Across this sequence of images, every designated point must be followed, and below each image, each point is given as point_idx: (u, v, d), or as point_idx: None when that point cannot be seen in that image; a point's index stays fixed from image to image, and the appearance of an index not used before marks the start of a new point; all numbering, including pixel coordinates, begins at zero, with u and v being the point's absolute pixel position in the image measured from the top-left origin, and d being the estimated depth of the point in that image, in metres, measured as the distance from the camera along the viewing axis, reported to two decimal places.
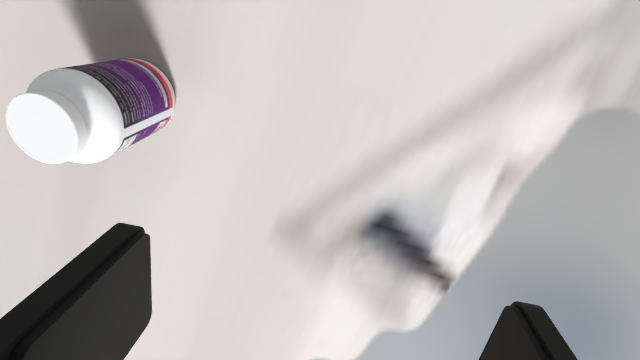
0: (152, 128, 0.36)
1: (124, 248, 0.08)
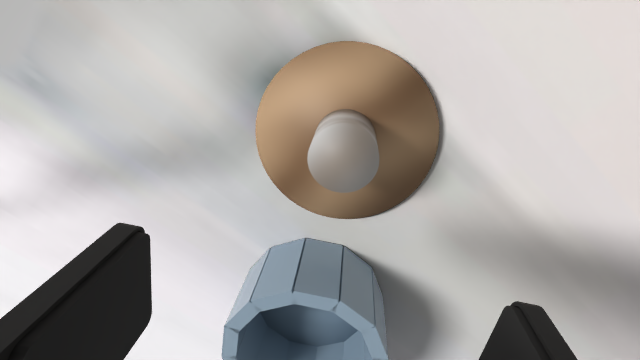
0: None
1: (124, 248, 0.08)
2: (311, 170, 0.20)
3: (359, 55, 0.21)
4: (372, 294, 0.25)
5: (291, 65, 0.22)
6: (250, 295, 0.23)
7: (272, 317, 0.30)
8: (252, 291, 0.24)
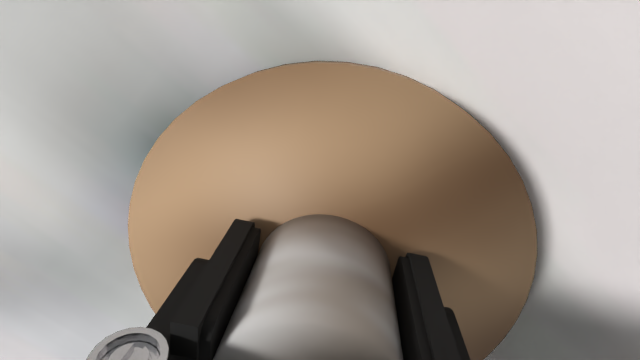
0: None
1: (249, 241, 0.09)
2: None
3: (361, 99, 0.09)
4: None
5: (197, 113, 0.09)
6: None
7: None
8: None
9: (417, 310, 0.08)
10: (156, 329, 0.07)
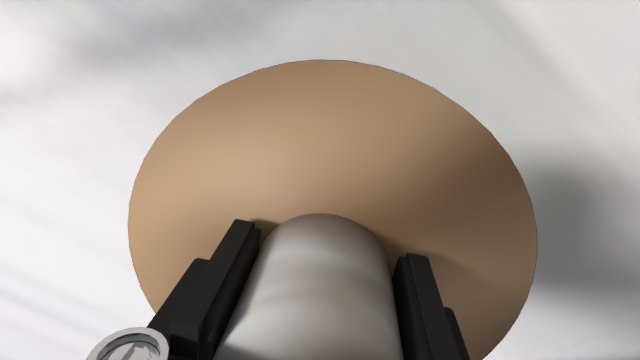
0: None
1: (249, 241, 0.09)
2: None
3: (361, 97, 0.09)
4: None
5: (196, 111, 0.09)
6: None
7: None
8: None
9: (417, 310, 0.08)
10: (156, 329, 0.07)
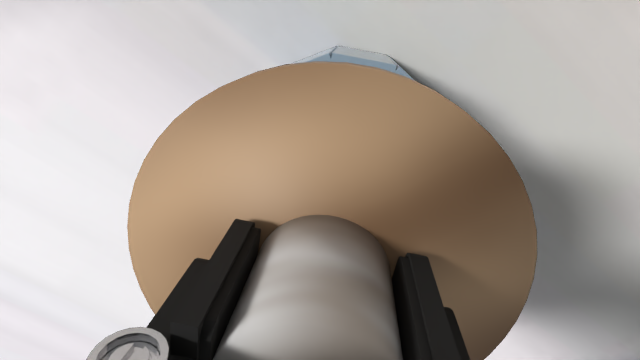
0: None
1: (249, 241, 0.09)
2: None
3: (361, 99, 0.09)
4: None
5: (197, 113, 0.09)
6: None
7: None
8: None
9: (417, 310, 0.08)
10: (156, 329, 0.07)
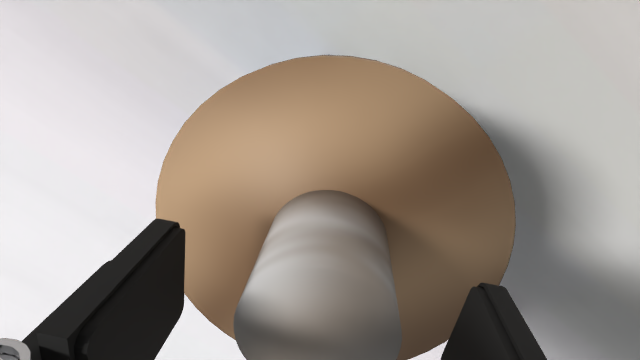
0: None
1: (165, 242, 0.08)
2: (243, 349, 0.09)
3: (362, 87, 0.10)
4: None
5: (219, 100, 0.11)
6: None
7: None
8: None
9: (513, 354, 0.07)
10: (36, 339, 0.06)
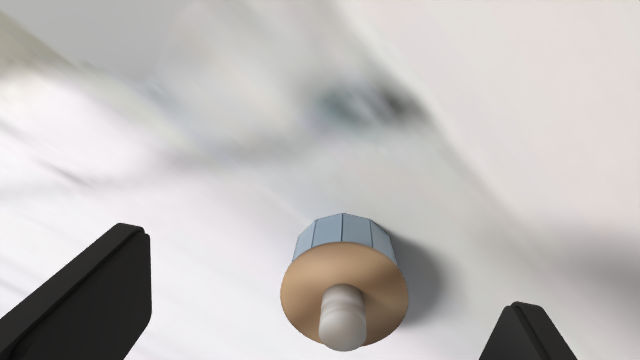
0: None
1: (124, 248, 0.08)
2: (320, 337, 0.30)
3: (357, 255, 0.32)
4: (391, 252, 0.36)
5: (310, 255, 0.32)
6: (309, 248, 0.34)
7: None
8: (310, 246, 0.34)
9: None
10: None
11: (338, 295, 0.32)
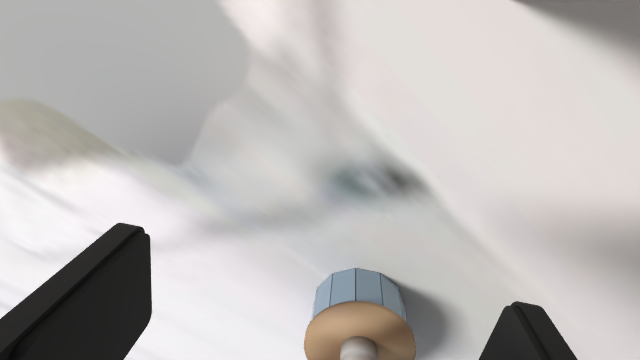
0: None
1: (124, 248, 0.08)
2: None
3: (370, 313, 0.37)
4: (400, 304, 0.41)
5: (329, 313, 0.37)
6: (328, 305, 0.39)
7: None
8: (328, 303, 0.39)
9: None
10: None
11: (354, 348, 0.37)
